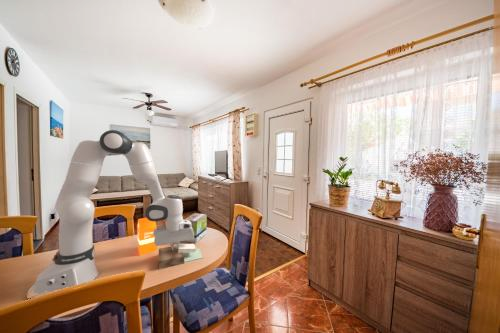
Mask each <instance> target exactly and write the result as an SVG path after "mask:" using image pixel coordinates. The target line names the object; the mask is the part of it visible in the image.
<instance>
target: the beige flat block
mask: <svg viewBox="0 0 500 333" xmlns="http://www.w3.org/2000/svg"><path fill="white" fill-rule="evenodd" d="M196 248H197V247H196V246H195V243H180V244H179V246H178V253H183V252H195V250H196Z"/></svg>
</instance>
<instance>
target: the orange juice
mask: <svg viewBox="0 0 500 333" xmlns="http://www.w3.org/2000/svg"><path fill="white" fill-rule="evenodd" d="M156 222H157V221H156ZM156 222H152V221H149V220H148V219H147V218H146V217H143V218H138V219H137V227H136V229H137V250H138V254H139V256H144V255H147V254H151V253H155V252H157V251H158V246H155V245H154V237H155V236H154V235H153V230H154V229H156V228H157V224H156Z"/></svg>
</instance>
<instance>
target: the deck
mask: <svg viewBox="0 0 500 333" xmlns="http://www.w3.org/2000/svg"><path fill="white" fill-rule="evenodd" d="M183 264H185V262H184V253H178V249H177V250H172V247H171V246H170V245H169V246H166V247H160V248H158V269H159V270H163V269H166V268H171V267H175V266H180V265H183Z"/></svg>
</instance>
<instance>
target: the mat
mask: <svg viewBox="0 0 500 333" xmlns="http://www.w3.org/2000/svg"><path fill="white" fill-rule="evenodd" d="M195 248H196V250H195V252H183V253H184V263H187V262H192V261H196V260H200V259H201V260H202V259H204V257H203V254H202V252H201V250H200V248H199V247H198V248H197V247H195Z"/></svg>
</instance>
